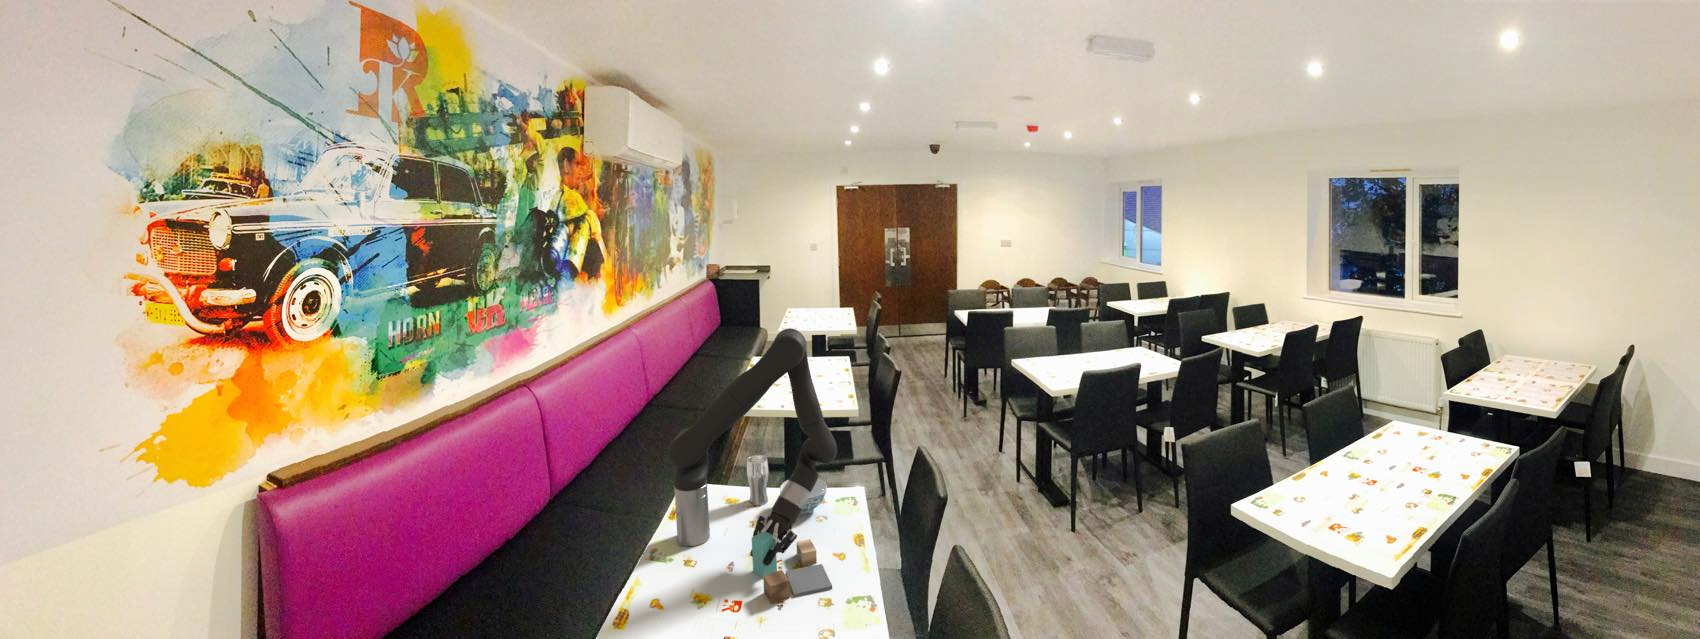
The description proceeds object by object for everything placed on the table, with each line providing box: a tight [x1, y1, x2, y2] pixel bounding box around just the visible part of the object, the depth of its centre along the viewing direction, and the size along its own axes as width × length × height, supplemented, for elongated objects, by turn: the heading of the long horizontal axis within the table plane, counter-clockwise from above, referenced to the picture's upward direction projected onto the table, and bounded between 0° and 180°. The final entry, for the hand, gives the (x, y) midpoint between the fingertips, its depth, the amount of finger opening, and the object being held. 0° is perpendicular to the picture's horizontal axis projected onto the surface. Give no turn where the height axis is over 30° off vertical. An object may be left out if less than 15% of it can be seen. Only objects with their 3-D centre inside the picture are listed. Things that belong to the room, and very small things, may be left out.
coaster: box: [785, 563, 833, 598], centre depth 155 cm, size 10×10×1 cm
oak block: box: [795, 538, 818, 567], centre depth 164 cm, size 6×4×4 cm, turn 20°
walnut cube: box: [762, 569, 791, 605], centre depth 149 cm, size 5×5×5 cm
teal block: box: [751, 532, 778, 579], centre depth 158 cm, size 4×4×10 cm
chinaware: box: [779, 478, 828, 515], centre depth 191 cm, size 15×15×8 cm
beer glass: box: [746, 454, 769, 507], centre depth 196 cm, size 7×7×15 cm
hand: (759, 560), depth 157 cm, fingers closed on teal block, 4 cm apart
